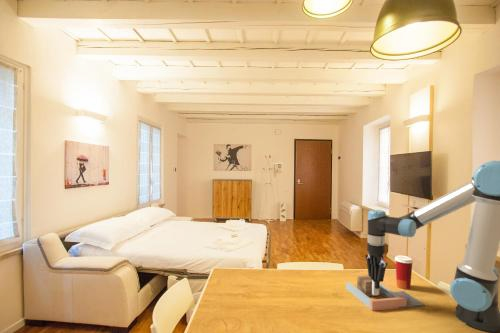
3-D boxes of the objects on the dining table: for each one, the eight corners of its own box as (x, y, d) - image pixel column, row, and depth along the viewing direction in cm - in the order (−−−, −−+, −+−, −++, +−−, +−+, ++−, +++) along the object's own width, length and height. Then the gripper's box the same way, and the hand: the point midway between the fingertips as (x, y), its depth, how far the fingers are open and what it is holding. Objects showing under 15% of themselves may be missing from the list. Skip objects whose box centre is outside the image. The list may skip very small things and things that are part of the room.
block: (378, 295, 132) (379, 280, 132) (365, 296, 130) (365, 282, 130) (369, 289, 139) (370, 275, 139) (357, 290, 137) (357, 276, 137)
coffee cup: (408, 283, 145) (408, 255, 145) (415, 290, 137) (416, 260, 137) (391, 283, 146) (391, 254, 146) (398, 290, 138) (398, 260, 138)
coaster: (424, 305, 123) (424, 304, 123) (398, 308, 120) (398, 306, 120) (403, 292, 135) (403, 291, 135) (379, 294, 133) (379, 293, 133)
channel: (406, 307, 121) (406, 298, 121) (372, 310, 118) (372, 301, 118) (375, 286, 142) (375, 278, 142) (345, 288, 139) (345, 280, 139)
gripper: (393, 247, 123) (392, 300, 123) (374, 239, 136) (373, 287, 136) (377, 248, 122) (377, 301, 122) (360, 240, 134) (359, 288, 134)
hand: (375, 294), depth 129 cm, fingers closed
